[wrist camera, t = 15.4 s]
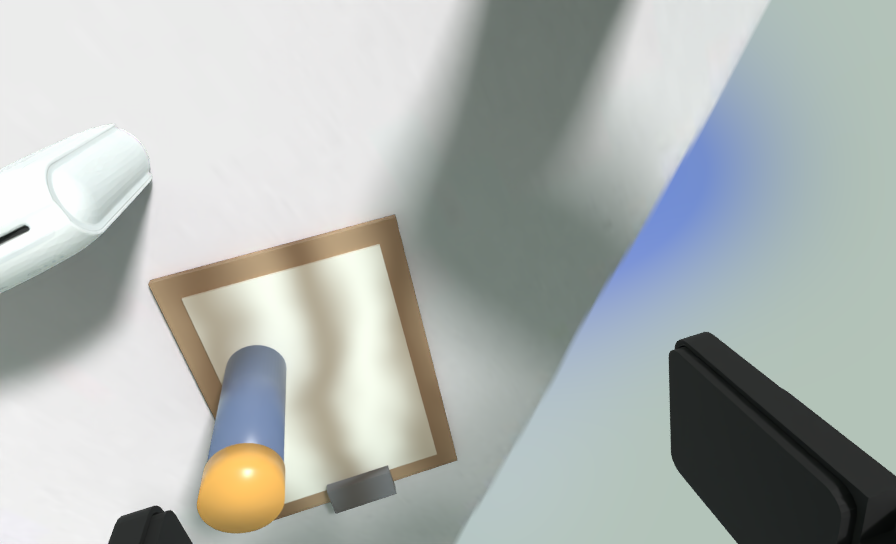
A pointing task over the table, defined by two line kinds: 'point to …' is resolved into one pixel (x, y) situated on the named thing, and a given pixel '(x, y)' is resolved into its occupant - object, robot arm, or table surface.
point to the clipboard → (324, 357)
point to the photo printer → (66, 198)
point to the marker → (247, 445)
